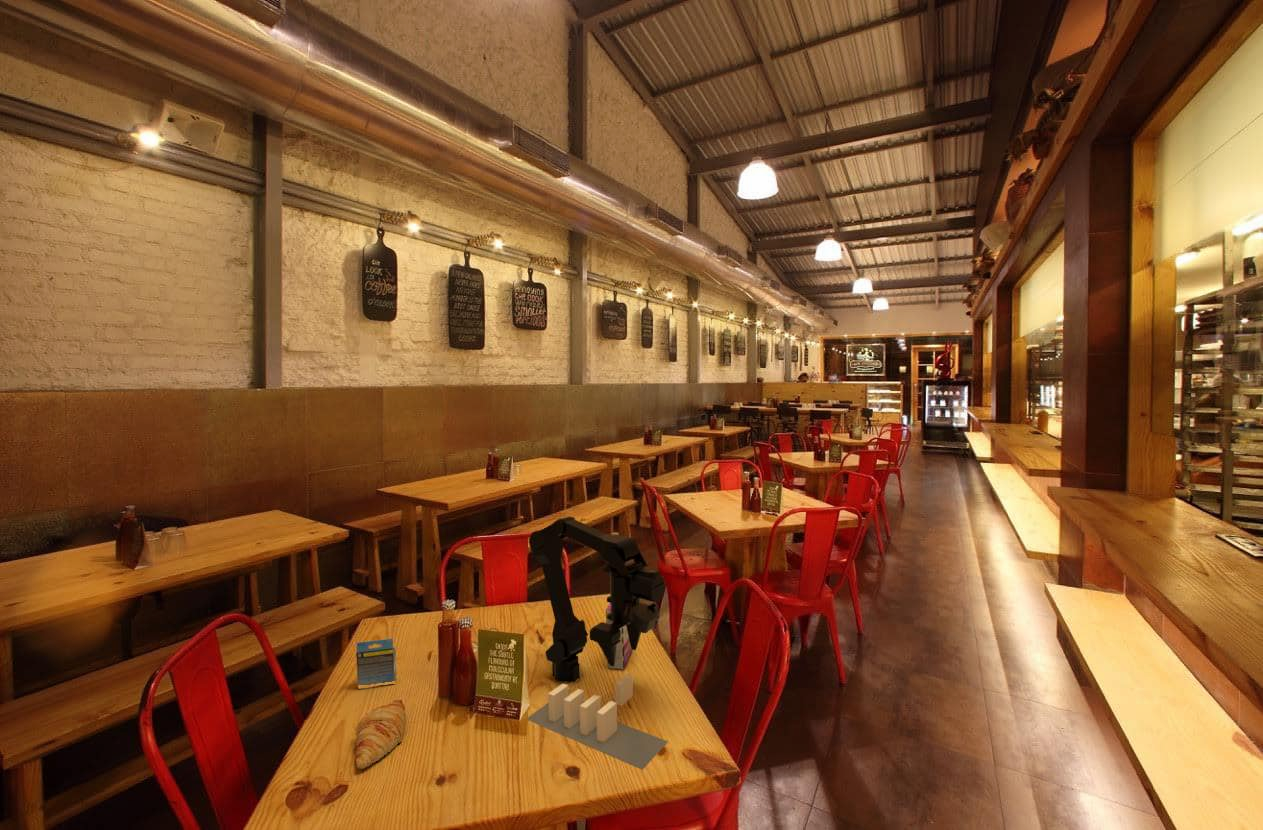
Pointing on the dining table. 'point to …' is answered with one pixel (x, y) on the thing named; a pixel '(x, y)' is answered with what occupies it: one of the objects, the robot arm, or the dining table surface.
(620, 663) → the candy bar box
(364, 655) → the label tape box
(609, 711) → the domino
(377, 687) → the dining table surface
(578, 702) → the domino
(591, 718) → the domino
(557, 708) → the domino
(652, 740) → the metal plate
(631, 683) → the domino
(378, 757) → the croissant
